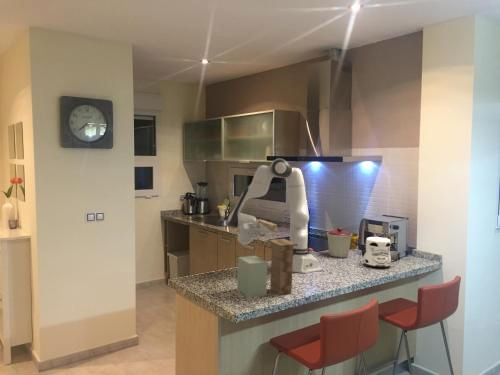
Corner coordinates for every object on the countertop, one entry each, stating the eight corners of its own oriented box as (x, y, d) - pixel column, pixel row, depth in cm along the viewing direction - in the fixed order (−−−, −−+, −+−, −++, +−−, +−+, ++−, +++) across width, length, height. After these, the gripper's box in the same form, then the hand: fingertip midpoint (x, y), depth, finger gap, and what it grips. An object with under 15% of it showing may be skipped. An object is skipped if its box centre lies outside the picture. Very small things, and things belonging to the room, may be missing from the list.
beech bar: (260, 225, 244) (260, 219, 244) (277, 231, 226) (277, 224, 226) (255, 225, 243) (256, 219, 243) (272, 231, 225) (272, 225, 225)
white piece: (379, 270, 267) (381, 242, 266) (358, 264, 281) (359, 238, 279) (396, 267, 277) (397, 240, 276) (374, 261, 291) (375, 235, 290)
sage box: (254, 287, 225) (255, 255, 224) (266, 295, 213) (267, 262, 211) (237, 289, 221) (238, 257, 220) (248, 297, 208) (249, 263, 207)
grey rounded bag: (381, 255, 313) (373, 260, 296) (382, 243, 312) (374, 248, 295) (402, 258, 305) (395, 263, 288) (403, 246, 304) (396, 251, 287)
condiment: (356, 250, 326) (357, 234, 325) (345, 248, 330) (346, 233, 329) (359, 248, 332) (359, 233, 331) (348, 247, 336) (349, 232, 336)
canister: (347, 260, 291) (348, 230, 290) (322, 256, 300) (323, 227, 299) (354, 255, 307) (355, 227, 305) (330, 252, 316) (331, 224, 314)
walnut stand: (282, 286, 228) (283, 238, 226) (295, 294, 216) (297, 244, 214) (265, 288, 224) (267, 239, 222) (278, 296, 211) (280, 245, 210)
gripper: (235, 226, 248) (243, 218, 236) (266, 225, 256) (275, 217, 245) (237, 237, 245) (245, 228, 234) (268, 235, 254) (278, 227, 242)
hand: (261, 222), depth 239 cm, fingers closed on beech bar, 3 cm apart
